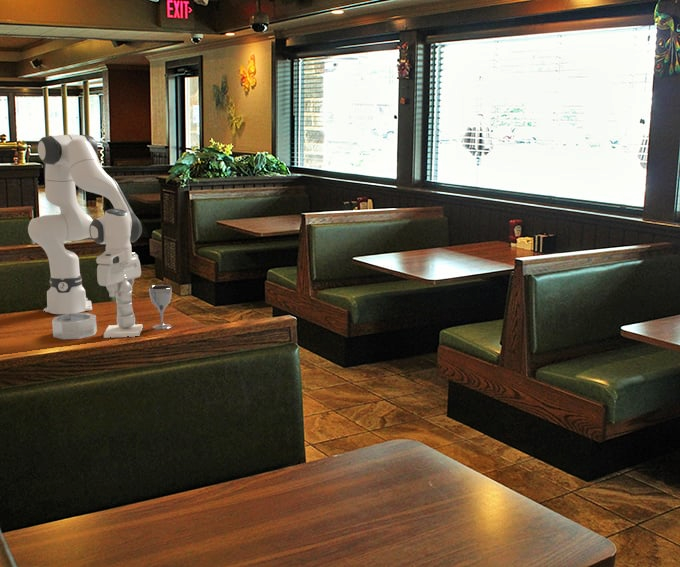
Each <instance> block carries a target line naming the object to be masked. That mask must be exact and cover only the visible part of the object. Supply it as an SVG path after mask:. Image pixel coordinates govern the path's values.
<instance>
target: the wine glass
mask: <svg viewBox="0 0 680 567" xmlns="http://www.w3.org/2000/svg"><path fill="white" fill-rule="evenodd" d="M172 289H173V288H172V285H168V284H158V285H151V286H149V289H148V291H149V298H150V301H151V303H152V304H153V306H154V307H155V308H157V310H158V312H159V314H160V315H159V316H160V323H159V324H156V325H154V326H152V327H151V328H152V329H155V330H167V329H171V328H172V327H173V325H172V324H168V323H167V324H166V323H164V311H165V309H166V308H167V307H168V305H169V304H170V302H171V300H172V293H173V292H172ZM171 325H172V326H171Z"/></svg>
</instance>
